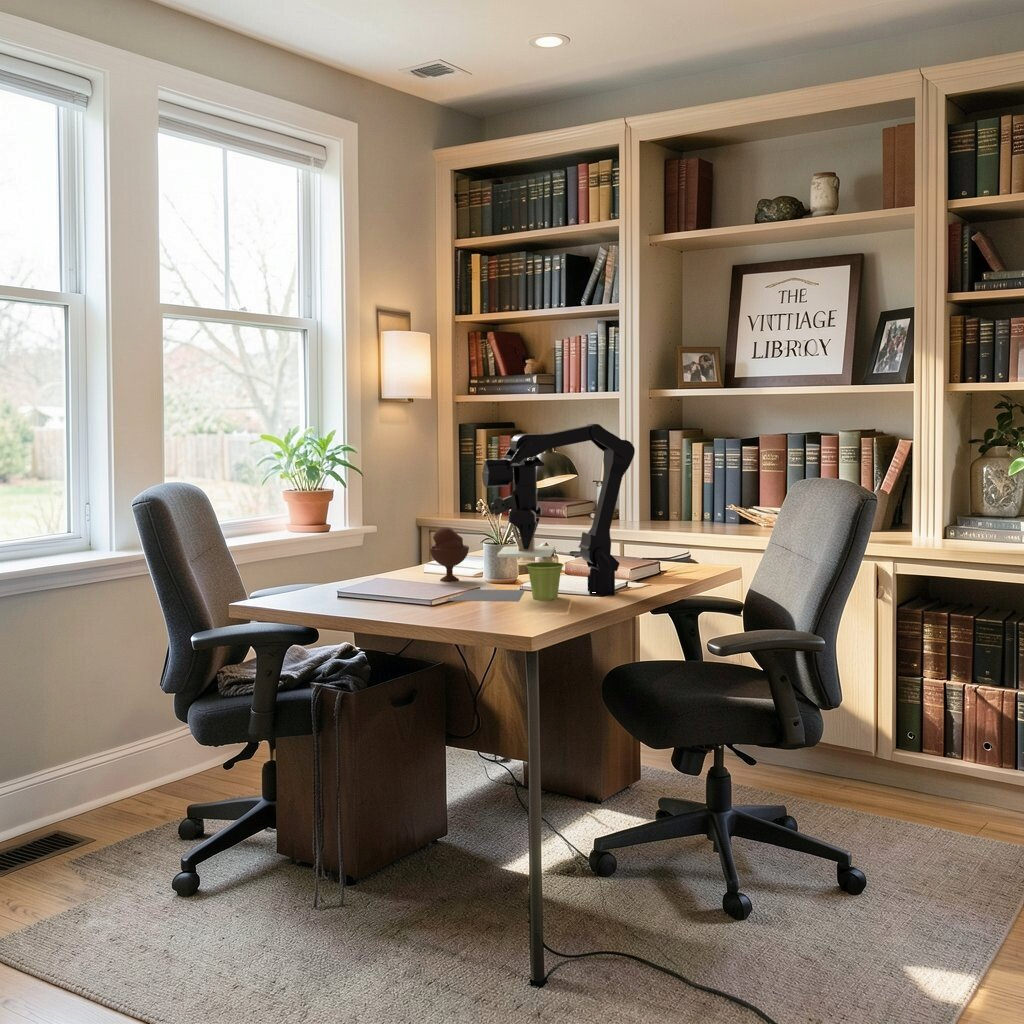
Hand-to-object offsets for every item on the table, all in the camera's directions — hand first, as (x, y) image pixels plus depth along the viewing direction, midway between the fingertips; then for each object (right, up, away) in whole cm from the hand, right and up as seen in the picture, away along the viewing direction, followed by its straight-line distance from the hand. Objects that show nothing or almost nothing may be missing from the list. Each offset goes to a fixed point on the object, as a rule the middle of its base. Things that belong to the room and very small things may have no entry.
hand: (526, 547), depth 267 cm
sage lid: (0, -1, 0) cm, 1 cm away
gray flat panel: (-10, -12, +4) cm, 17 cm away
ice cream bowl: (-21, -10, +27) cm, 36 cm away
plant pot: (+4, -13, 0) cm, 14 cm away
